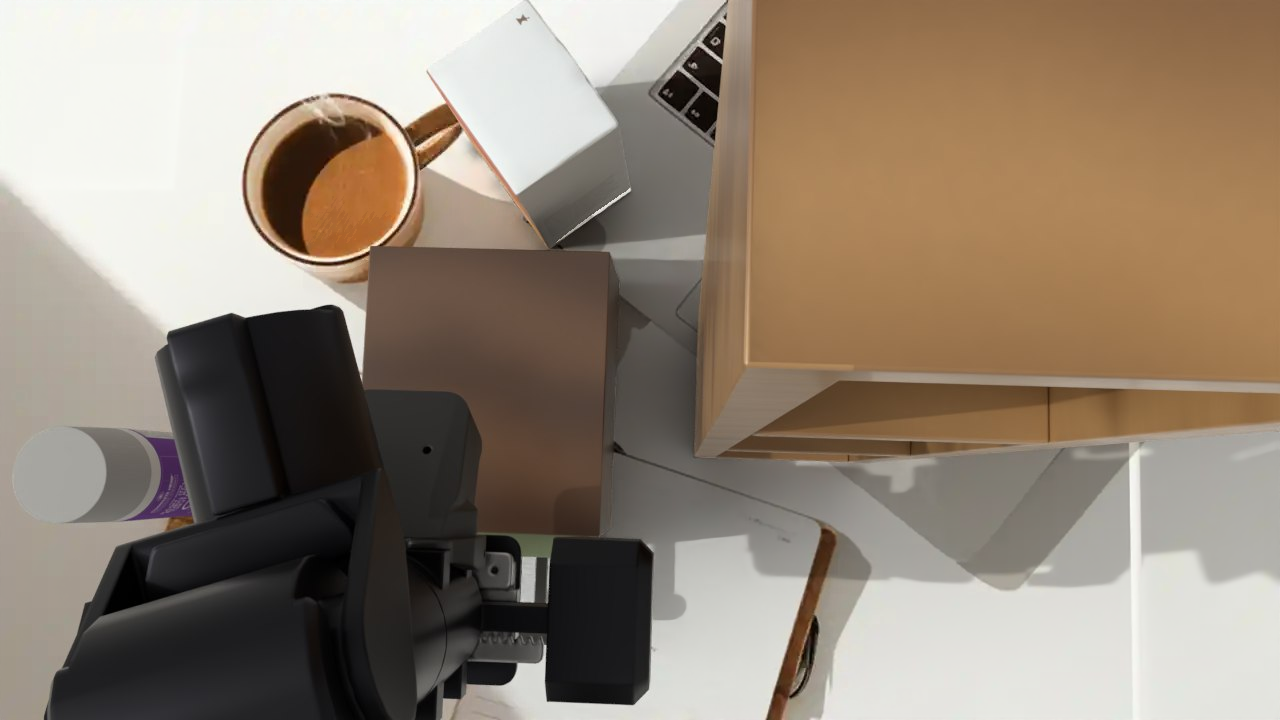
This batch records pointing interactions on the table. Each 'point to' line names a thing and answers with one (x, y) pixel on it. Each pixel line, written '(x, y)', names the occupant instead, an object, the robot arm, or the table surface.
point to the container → (100, 475)
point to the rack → (990, 227)
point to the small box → (535, 121)
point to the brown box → (509, 370)
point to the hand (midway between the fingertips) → (458, 589)
